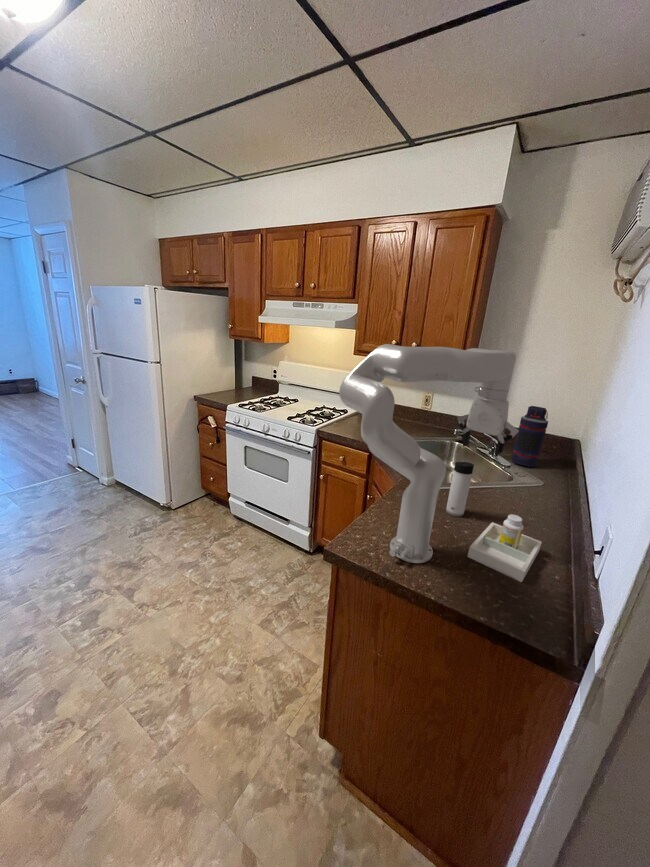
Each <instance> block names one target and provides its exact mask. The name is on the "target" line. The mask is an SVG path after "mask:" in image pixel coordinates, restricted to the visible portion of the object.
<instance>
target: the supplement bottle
mask: <svg viewBox="0 0 650 867" xmlns="http://www.w3.org/2000/svg"><path fill="white" fill-rule="evenodd" d="M502 526H503V527H502V531H501V535H500V539H499V542H500V543H503V544H505V545H507V546H510V547H512V548H514V549H518V546H519V543H520V539H521V535H522V534H523V530H524V525H523V518H522V517H521V516H519V515H517V514H508V515H507V518H506V519H505V520H503V524H502Z"/></svg>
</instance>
